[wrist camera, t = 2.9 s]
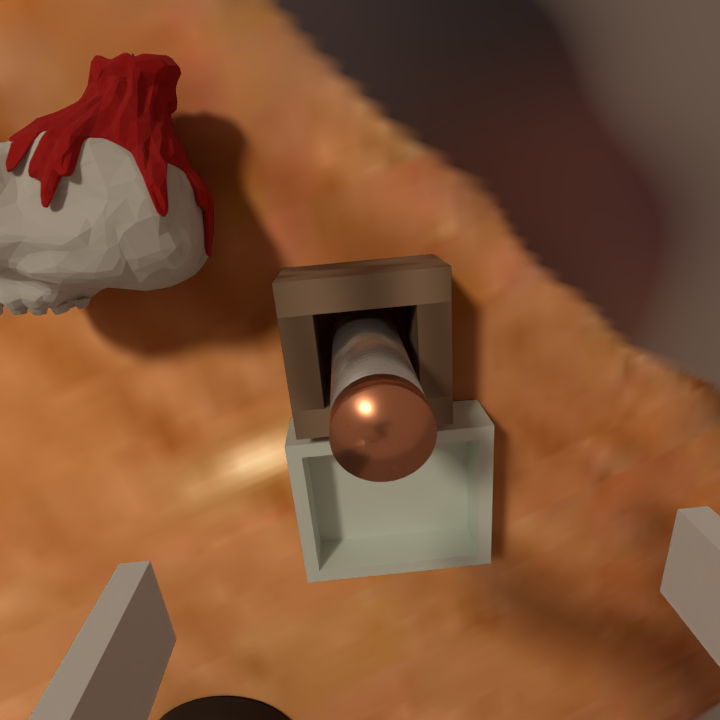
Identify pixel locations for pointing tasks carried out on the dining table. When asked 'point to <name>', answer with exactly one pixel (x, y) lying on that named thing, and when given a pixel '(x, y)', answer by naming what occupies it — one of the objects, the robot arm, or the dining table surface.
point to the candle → (102, 194)
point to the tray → (397, 505)
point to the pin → (376, 400)
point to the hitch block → (361, 292)
